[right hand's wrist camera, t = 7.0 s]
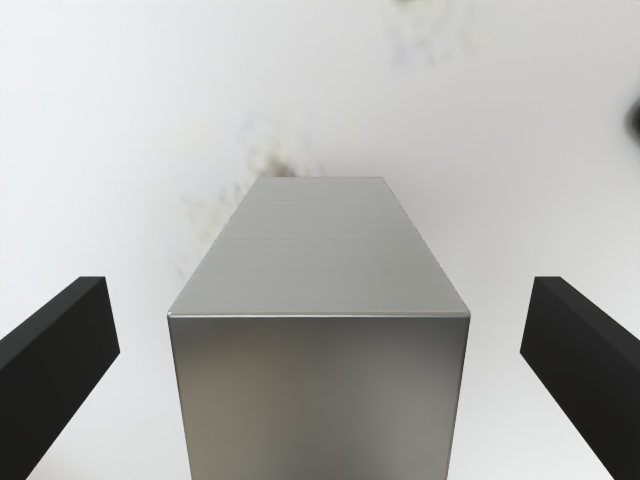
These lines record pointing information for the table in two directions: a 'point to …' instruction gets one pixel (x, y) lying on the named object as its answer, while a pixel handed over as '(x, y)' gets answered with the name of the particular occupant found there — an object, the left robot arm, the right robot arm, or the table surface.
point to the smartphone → (636, 122)
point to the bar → (319, 340)
